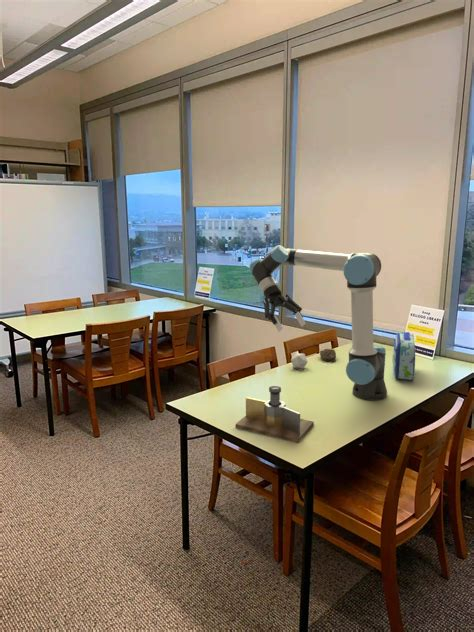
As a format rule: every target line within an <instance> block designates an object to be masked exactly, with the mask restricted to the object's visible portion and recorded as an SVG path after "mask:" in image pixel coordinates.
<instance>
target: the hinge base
mask: <svg viewBox="0 0 474 632" xmlns="http://www.w3.org/2000/svg"><path fill="white" fill-rule="evenodd" d="M314 422H315V421H312V420H307V419H303V418H300V434H297V433H294V432H292V431H290V430H288V429H286V428H284V427H270V426H267V425H266V424H265V423H264V421H263V420H258V419H254V418H250V417H246V415H245V416H243V417H242V418H241V419H240V420H238V421H237V422H236V423H235V428H236V429H241V430H245V431H248V432H252V433H256V434H261V435H265V436H269V437H273V438H276V439H281V440H285V441H289V442H293V443H297V444H299V443H300V442H301V441H302V440H303V439H304V437H305V436H306V435H307V434H308V432H309V431H310V430H311V429H312V428H313V426H315V425H314V424H315V423H314Z"/></svg>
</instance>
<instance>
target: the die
mask: <svg viewBox="0 0 474 632" xmlns="http://www.w3.org/2000/svg"><path fill="white" fill-rule="evenodd" d="M290 362H291V365H292V367H293V369H299V370H304V369H305V367H306V366H307V364H308V360H307V357H306V354H305V353H298V352H295V353H294V354H293V355H292V358H291V359H290Z"/></svg>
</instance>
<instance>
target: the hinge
mask: <svg viewBox="0 0 474 632" xmlns="http://www.w3.org/2000/svg"><path fill="white" fill-rule="evenodd" d="M286 406H287V405H286V402H285V401H284V400H281V399H280V406H271V405H270V399H268V400H262V399H257V398H252V397H247V396H246V397H245V416H246V417H250V418H254V419H258V420H263V421H264V423H265V424H266V425H267V426H270V427H284V428H286V429H288V430H290V431H292V432H294V433H297V434H300V419H301V413H300V412H298V411H295V410H293V409H291V408H288V407H286Z"/></svg>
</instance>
